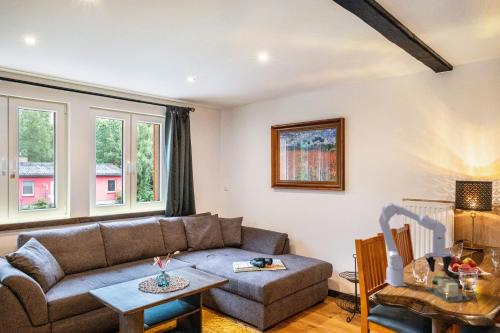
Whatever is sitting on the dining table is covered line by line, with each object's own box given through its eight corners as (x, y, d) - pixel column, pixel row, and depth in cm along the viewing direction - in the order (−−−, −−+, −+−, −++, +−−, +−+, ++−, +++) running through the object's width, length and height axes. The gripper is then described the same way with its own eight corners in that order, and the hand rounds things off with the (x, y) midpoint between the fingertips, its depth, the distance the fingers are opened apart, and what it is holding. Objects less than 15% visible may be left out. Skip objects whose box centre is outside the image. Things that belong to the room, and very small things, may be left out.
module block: (437, 291, 173) (437, 279, 173) (446, 290, 174) (446, 278, 174) (448, 296, 165) (448, 284, 165) (458, 296, 166) (458, 284, 166)
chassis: (426, 290, 177) (426, 283, 177) (447, 289, 179) (447, 282, 179) (447, 302, 161) (447, 295, 161) (470, 301, 163) (470, 293, 163)
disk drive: (465, 285, 186) (434, 280, 195) (465, 280, 186) (434, 275, 195) (464, 291, 178) (432, 285, 186) (464, 285, 178) (432, 279, 186)
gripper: (431, 247, 174) (431, 274, 174) (457, 246, 176) (457, 272, 176) (422, 244, 181) (422, 269, 181) (447, 243, 183) (447, 268, 183)
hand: (439, 271), depth 179 cm, fingers open, 7 cm apart
